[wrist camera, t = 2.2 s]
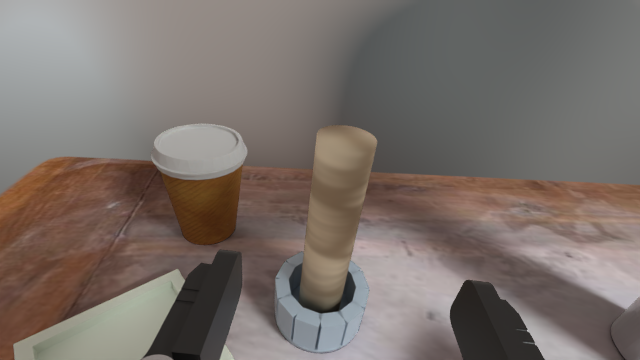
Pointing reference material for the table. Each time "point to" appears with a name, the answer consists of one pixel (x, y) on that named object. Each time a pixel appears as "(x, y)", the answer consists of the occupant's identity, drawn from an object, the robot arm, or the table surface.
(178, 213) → the disposable coffee cup
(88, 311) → the tray
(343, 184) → the dowel
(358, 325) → the holder
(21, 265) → the table surface
